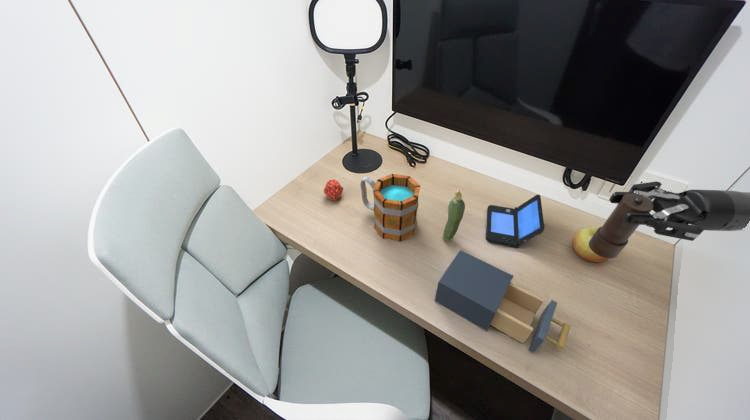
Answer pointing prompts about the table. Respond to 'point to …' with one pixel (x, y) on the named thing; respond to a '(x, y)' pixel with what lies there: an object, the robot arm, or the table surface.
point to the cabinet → (472, 289)
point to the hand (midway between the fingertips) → (619, 207)
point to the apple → (586, 245)
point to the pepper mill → (618, 226)
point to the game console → (515, 223)
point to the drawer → (527, 318)
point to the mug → (393, 205)
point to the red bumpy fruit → (333, 189)
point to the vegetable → (454, 216)
